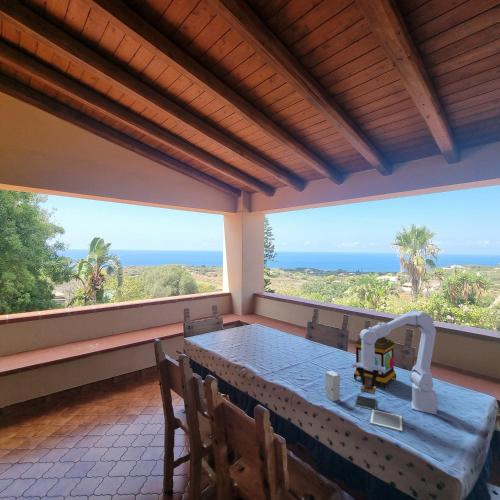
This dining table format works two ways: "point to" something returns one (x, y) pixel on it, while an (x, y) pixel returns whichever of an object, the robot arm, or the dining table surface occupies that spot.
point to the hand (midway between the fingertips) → (368, 385)
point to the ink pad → (366, 402)
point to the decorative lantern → (379, 360)
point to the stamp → (368, 385)
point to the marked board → (386, 420)
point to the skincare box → (332, 386)
